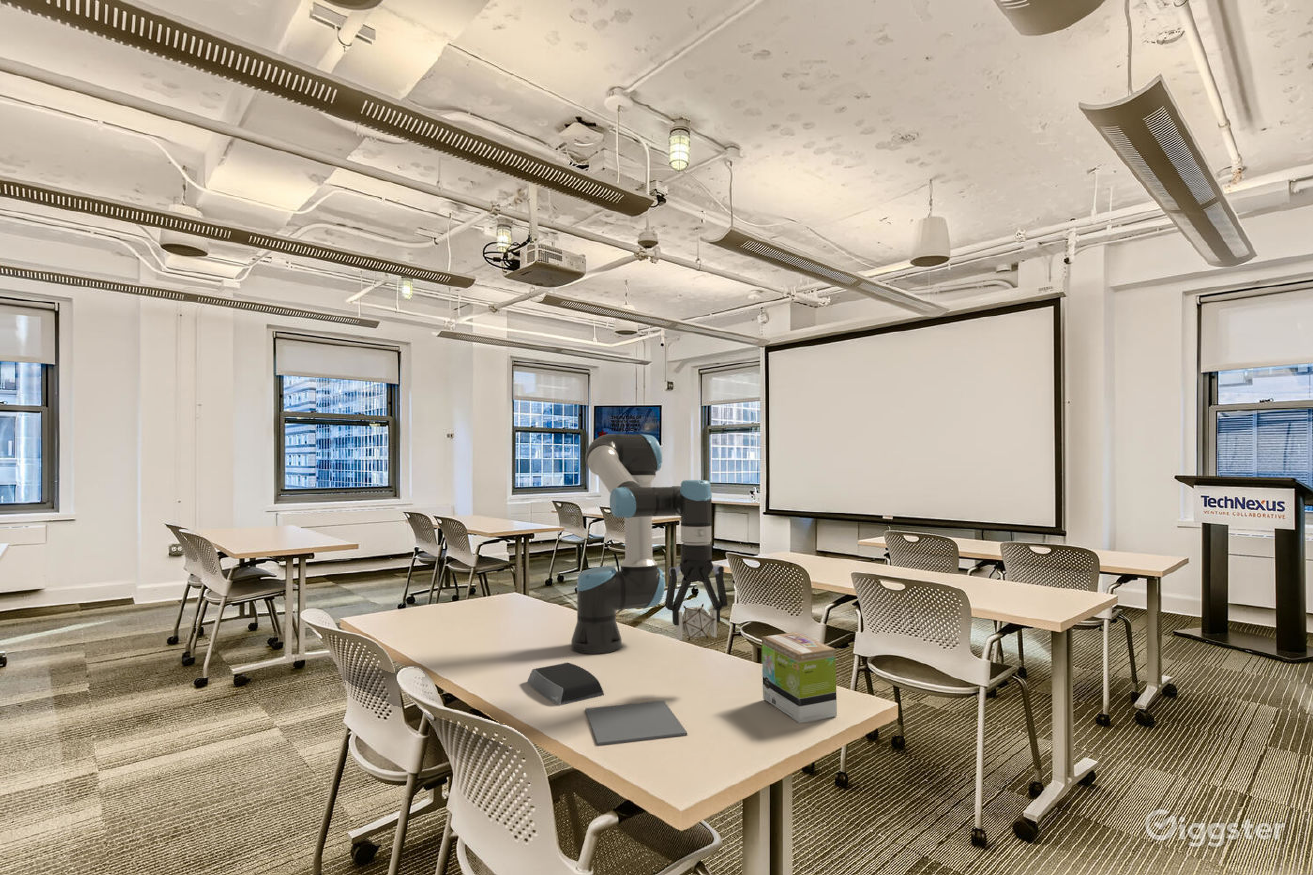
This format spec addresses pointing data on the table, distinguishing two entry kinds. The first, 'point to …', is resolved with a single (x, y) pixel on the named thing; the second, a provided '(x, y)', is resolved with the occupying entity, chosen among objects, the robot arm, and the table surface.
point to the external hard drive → (565, 683)
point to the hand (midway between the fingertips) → (696, 637)
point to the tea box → (799, 676)
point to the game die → (696, 622)
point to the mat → (633, 722)
